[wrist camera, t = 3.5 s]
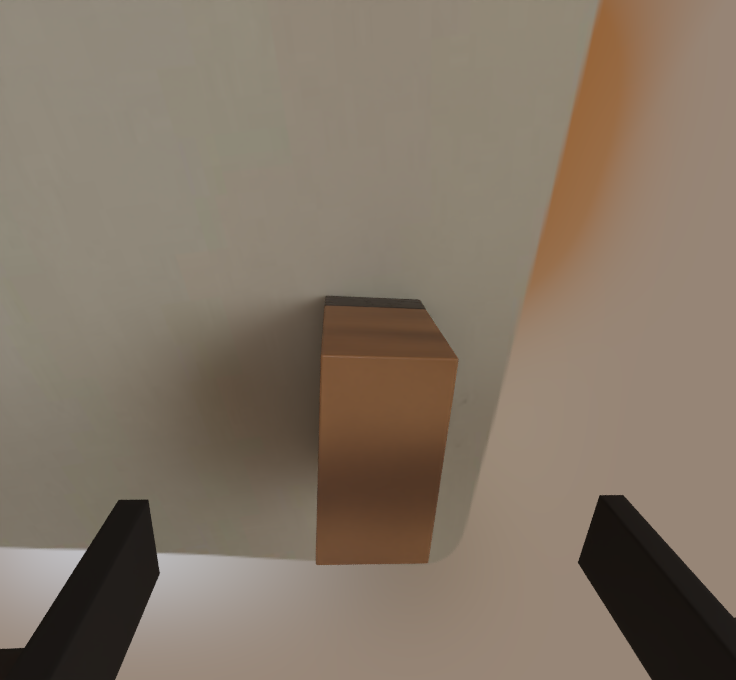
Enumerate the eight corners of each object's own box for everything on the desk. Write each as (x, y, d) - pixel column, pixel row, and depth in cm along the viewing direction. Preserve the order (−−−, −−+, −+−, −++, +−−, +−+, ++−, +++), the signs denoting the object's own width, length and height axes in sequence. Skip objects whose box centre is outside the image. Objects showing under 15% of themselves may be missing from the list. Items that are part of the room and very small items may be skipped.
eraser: (325, 295, 20) (320, 354, 14) (419, 299, 21) (459, 359, 14) (320, 456, 23) (315, 565, 17) (402, 456, 24) (428, 564, 17)
